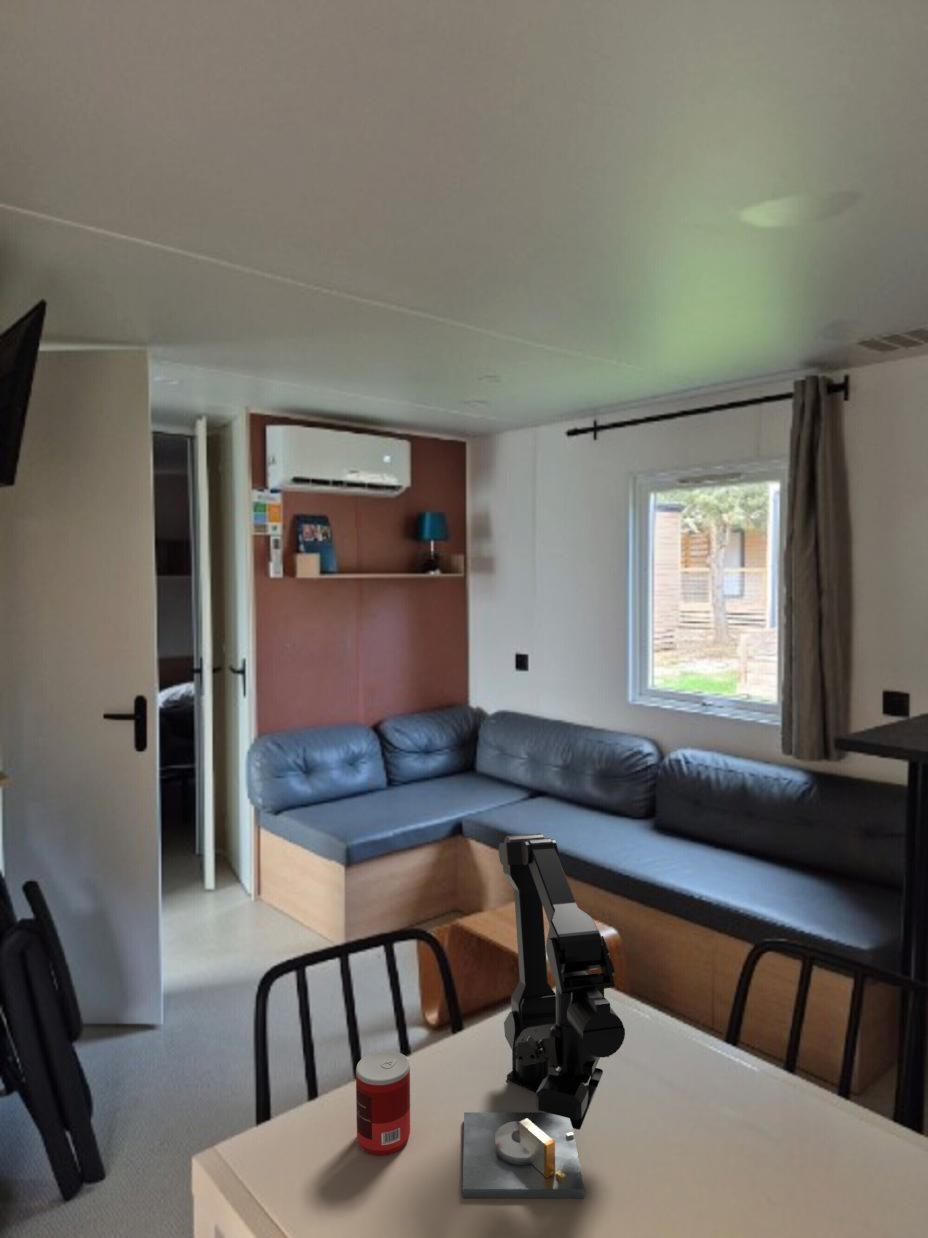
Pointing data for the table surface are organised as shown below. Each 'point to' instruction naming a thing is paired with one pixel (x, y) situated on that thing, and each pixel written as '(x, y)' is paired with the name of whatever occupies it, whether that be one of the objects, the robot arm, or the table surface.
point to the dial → (526, 1146)
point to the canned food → (383, 1102)
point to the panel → (509, 1180)
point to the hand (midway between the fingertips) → (576, 1127)
